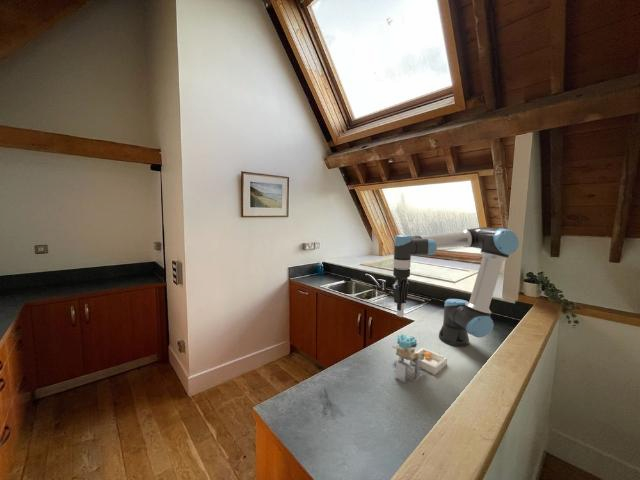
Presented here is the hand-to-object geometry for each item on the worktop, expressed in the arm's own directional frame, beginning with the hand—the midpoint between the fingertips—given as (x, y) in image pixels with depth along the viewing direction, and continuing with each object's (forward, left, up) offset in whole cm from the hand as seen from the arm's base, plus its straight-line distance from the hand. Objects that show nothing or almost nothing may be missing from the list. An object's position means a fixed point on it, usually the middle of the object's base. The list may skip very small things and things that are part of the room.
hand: (400, 316), depth 126 cm
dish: (-6, +13, -21) cm, 25 cm away
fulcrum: (+10, +11, -21) cm, 25 cm away
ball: (-9, +11, -19) cm, 23 cm away
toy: (-15, -4, -21) cm, 26 cm away
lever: (+8, +7, -13) cm, 17 cm away
